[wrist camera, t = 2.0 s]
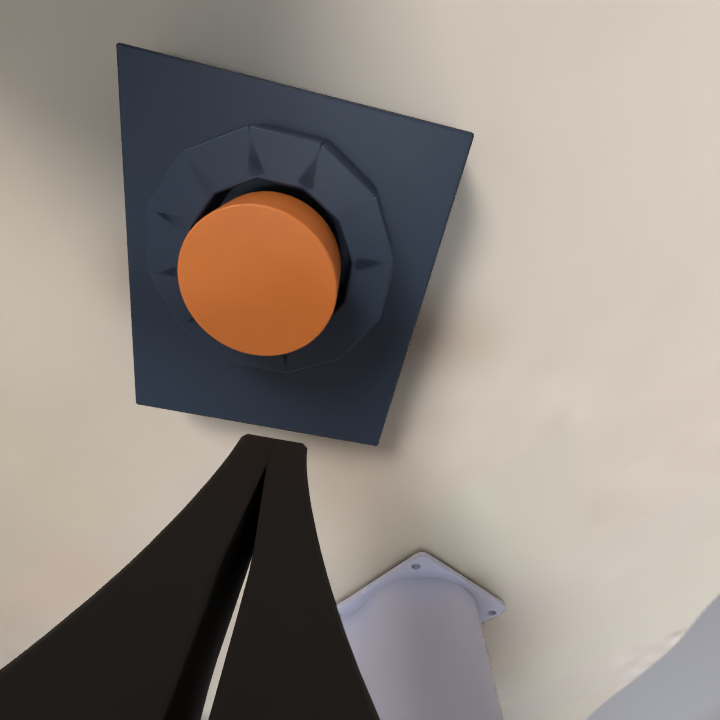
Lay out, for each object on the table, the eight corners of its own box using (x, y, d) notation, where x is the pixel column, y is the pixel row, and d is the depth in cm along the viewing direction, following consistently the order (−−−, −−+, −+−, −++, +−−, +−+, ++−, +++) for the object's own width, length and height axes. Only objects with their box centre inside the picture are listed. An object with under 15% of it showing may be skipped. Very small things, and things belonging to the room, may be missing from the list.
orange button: (328, 336, 14) (322, 368, 12) (201, 311, 13) (176, 341, 11) (353, 209, 12) (351, 224, 10) (206, 174, 11) (176, 185, 9)
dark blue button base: (376, 411, 20) (379, 482, 16) (161, 372, 19) (108, 437, 15) (458, 131, 14) (493, 135, 10) (155, 54, 13) (68, 26, 9)
